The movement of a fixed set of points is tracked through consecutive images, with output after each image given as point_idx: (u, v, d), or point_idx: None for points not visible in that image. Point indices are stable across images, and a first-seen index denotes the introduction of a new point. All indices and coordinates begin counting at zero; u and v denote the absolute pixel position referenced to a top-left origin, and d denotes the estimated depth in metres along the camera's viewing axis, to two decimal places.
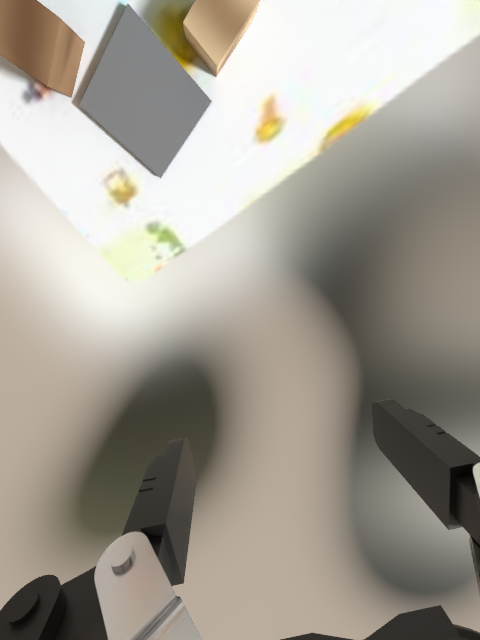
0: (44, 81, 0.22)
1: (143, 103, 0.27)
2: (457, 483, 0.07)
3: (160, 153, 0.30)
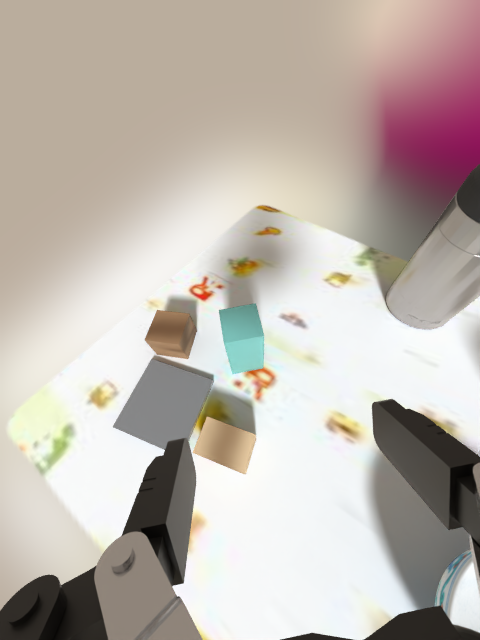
0: (146, 338, 0.34)
1: (163, 400, 0.34)
2: (457, 483, 0.07)
3: (132, 421, 0.33)
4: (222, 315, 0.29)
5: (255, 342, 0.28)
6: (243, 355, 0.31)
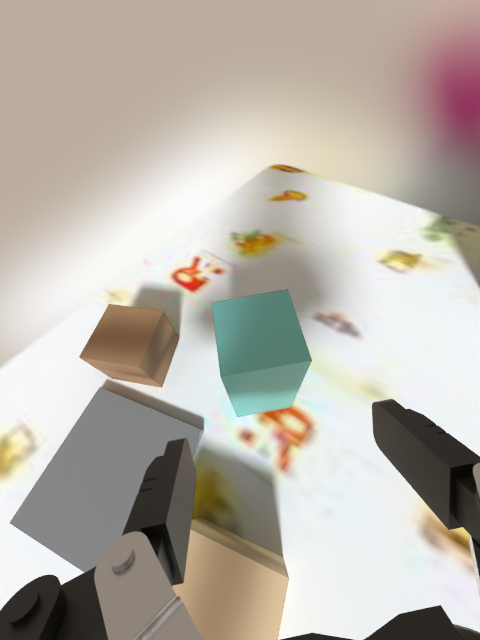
0: (83, 354, 0.19)
1: (110, 468, 0.18)
2: (457, 482, 0.07)
3: (47, 513, 0.17)
4: (218, 313, 0.14)
5: (289, 372, 0.13)
6: (260, 394, 0.16)
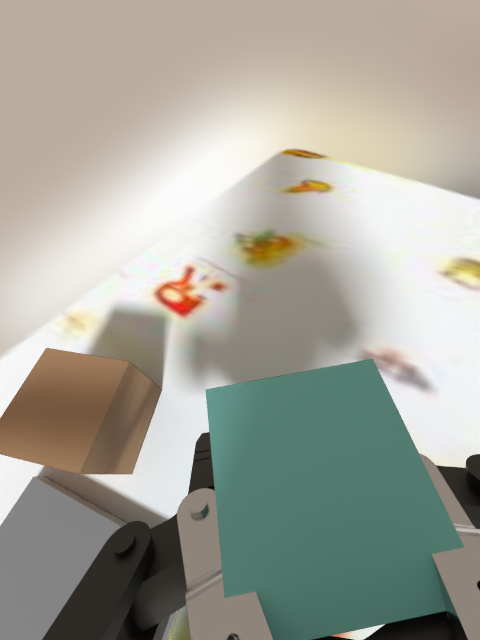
0: None
1: None
2: None
3: None
4: (222, 420, 0.06)
5: None
6: None
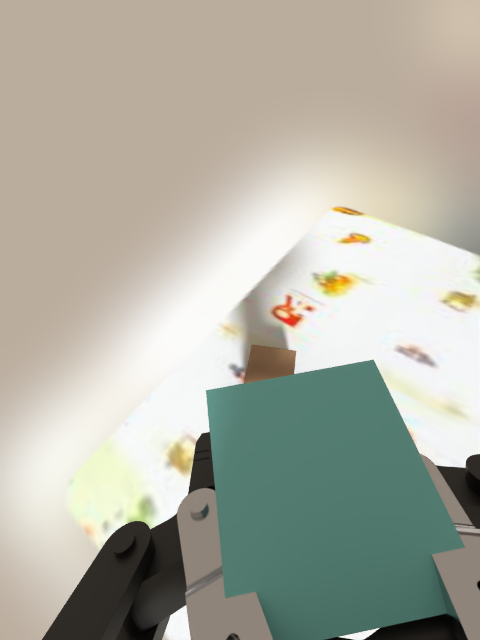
0: None
1: None
2: None
3: None
4: (222, 422, 0.06)
5: None
6: None
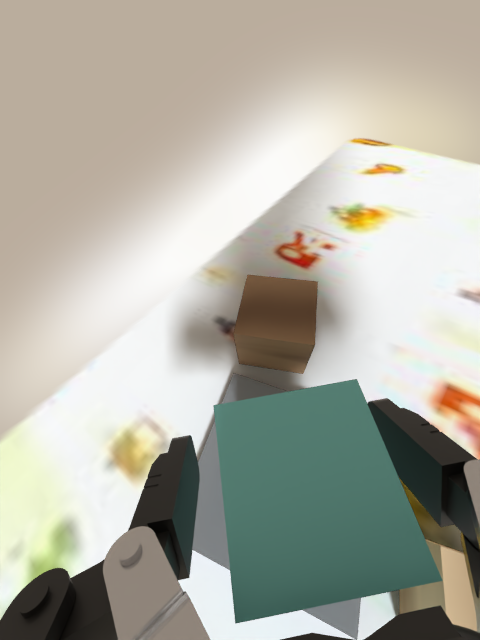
0: (237, 330, 0.16)
1: None
2: (449, 481, 0.07)
3: (213, 523, 0.14)
4: (227, 432, 0.07)
5: None
6: None
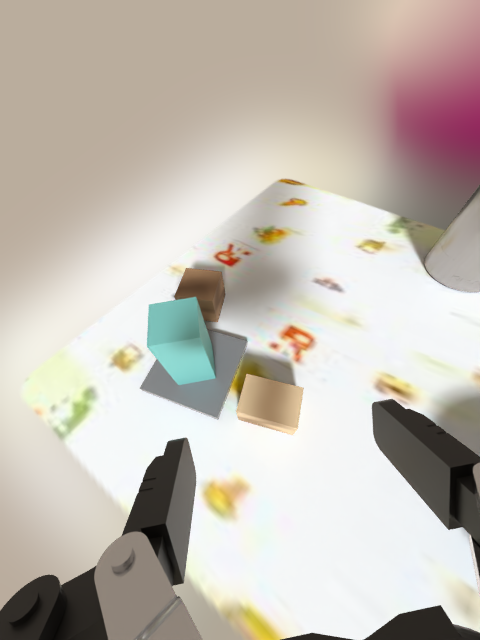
0: (176, 294, 0.32)
1: None
2: (457, 482, 0.07)
3: (161, 383, 0.30)
4: (152, 311, 0.23)
5: (191, 346, 0.22)
6: (182, 363, 0.25)
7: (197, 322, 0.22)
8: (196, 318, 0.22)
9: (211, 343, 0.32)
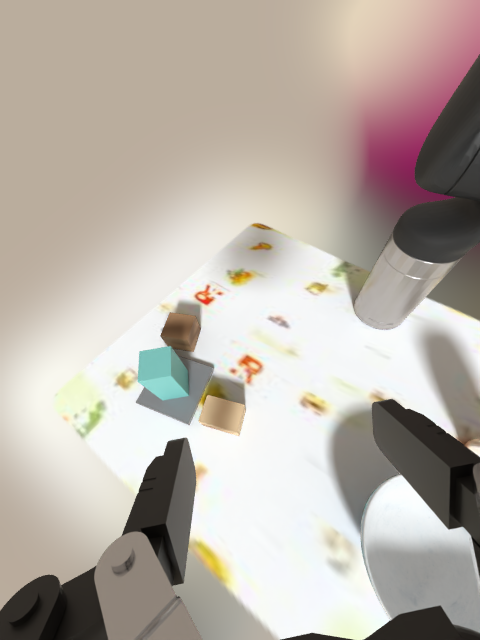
0: (162, 334, 0.44)
1: None
2: (457, 483, 0.07)
3: (150, 399, 0.42)
4: (141, 356, 0.35)
5: (166, 380, 0.34)
6: (162, 388, 0.37)
7: (170, 365, 0.34)
8: (169, 362, 0.34)
9: None
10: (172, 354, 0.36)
